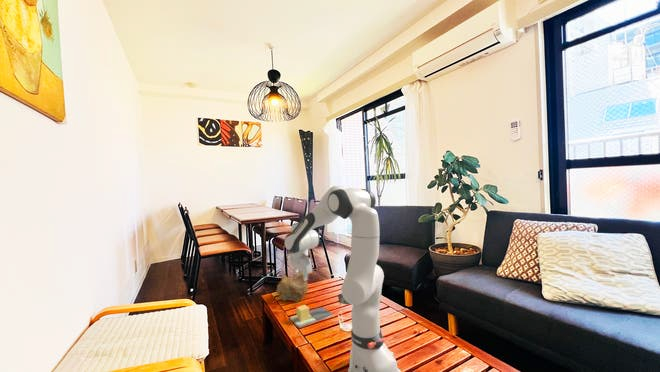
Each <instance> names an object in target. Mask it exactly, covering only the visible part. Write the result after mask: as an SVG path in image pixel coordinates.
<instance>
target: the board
mask: <svg viewBox="0 0 660 372" xmlns="http://www.w3.org/2000/svg"><path fill="white" fill-rule="evenodd" d="M331 317H334V314H333V313H332V312H330V311H329V310H328V309H326V308H325V307H323V306H320V307H317V308H314V309H311V310H309V319H308V320H305V321H303V322H301V321H300V320H298V319H297V314H296V315H293V316H291V317H289V320H290V321H291V322H292V323H294V325H295V326H296V327H298V329H300V328H304V327H307V326H309V325H312V324H314V323H318V322H320V321H323V320H326V319H329V318H331Z"/></svg>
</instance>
